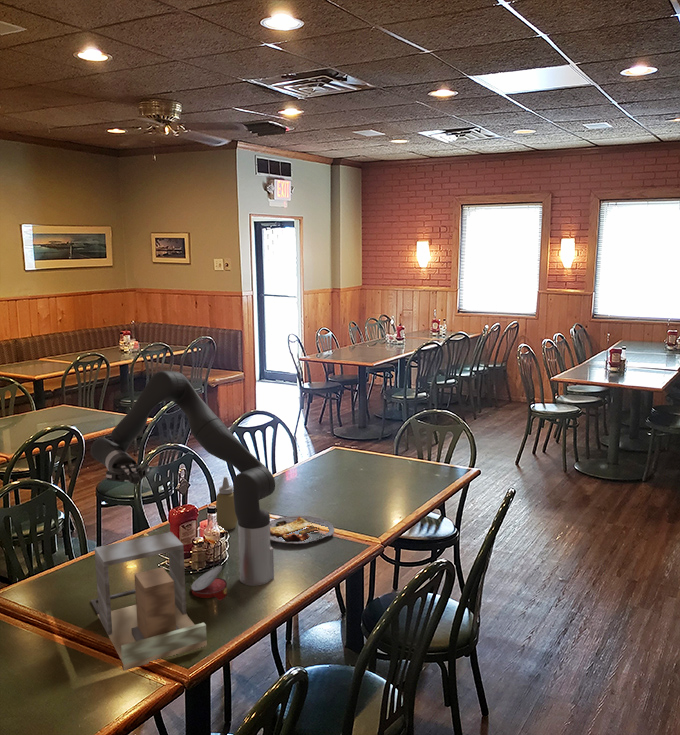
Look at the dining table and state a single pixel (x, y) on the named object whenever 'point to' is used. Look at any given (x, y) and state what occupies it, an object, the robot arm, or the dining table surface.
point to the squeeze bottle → (226, 506)
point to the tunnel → (126, 618)
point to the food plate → (296, 528)
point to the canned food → (210, 585)
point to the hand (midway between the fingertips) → (136, 480)
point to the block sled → (154, 604)
